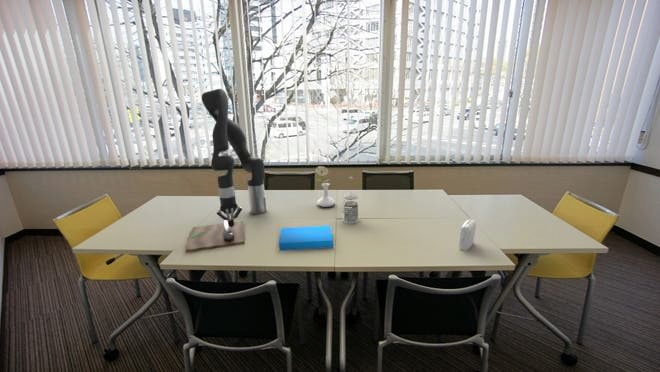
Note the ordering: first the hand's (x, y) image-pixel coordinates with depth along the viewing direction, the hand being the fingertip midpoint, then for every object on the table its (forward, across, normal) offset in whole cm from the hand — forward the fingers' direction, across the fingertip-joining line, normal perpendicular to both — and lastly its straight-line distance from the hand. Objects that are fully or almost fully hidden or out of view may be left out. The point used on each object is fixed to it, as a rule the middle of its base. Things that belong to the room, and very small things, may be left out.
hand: (231, 226), depth 160 cm
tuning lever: (+1, +3, +4) cm, 5 cm away
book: (+4, -31, +27) cm, 41 cm away
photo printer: (+3, -95, +66) cm, 116 cm away
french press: (+4, -61, +16) cm, 63 cm away
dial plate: (+3, +8, +2) cm, 8 cm away
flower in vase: (+4, -59, -12) cm, 60 cm away
